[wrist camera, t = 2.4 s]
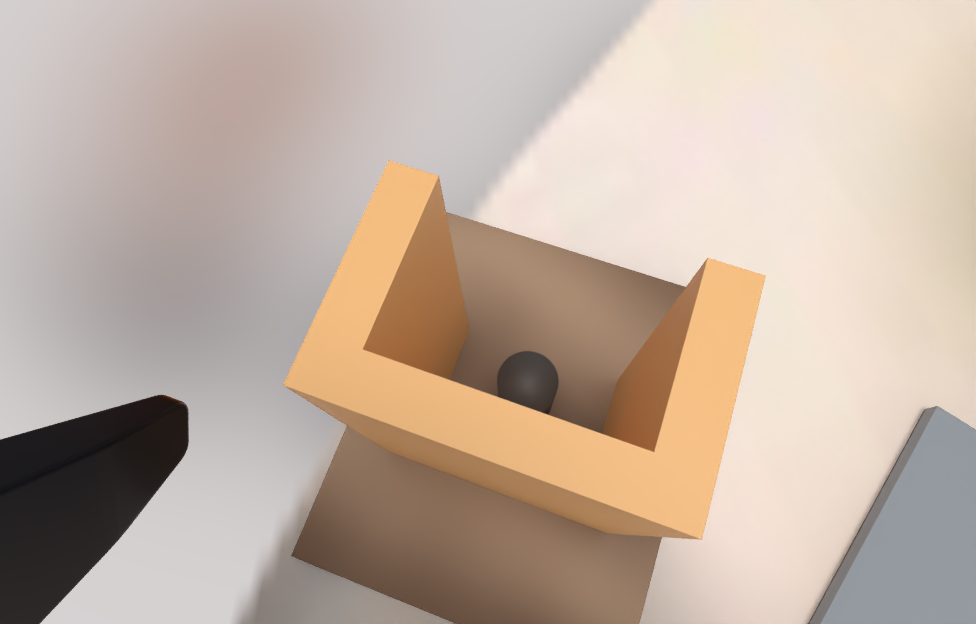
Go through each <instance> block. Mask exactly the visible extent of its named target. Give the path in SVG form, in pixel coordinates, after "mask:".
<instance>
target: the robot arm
mask: <svg viewBox="0 0 976 624" xmlns="http://www.w3.org/2000/svg"><path fill="white" fill-rule="evenodd" d="M188 430H189V429H188V408H187V405H186V404H185V403H184V402H182V401H179V400H176V399H174V398H171V397H168V396H166V395H157V396H153V397H150V398H146V399H142V400H139V401H136V402H132V403H128V404H125V405H121V406H118V407H114V408H111V409H107V410H104V411H100V412H96V413H93V414H89V415H86V416H82V417H79V418H75V419H72V420H68V421H65V422H61V423H57V424H54V425H50V426H47V427H43V428H40V429H36V430H33V431H29V432H26V433H22V434H19V435H15V436H11V437H8V438H4V439H1V440H0V624H40V623H41V622H42V621H43V619H45V617H46V616H47V615H48V614H49V613H50V612H51V611H52V610H53V609H54V608H55V607H56V606H57V605H58V604H59V602H61V601H62V599H63V598H64V597H65V596H66V595H67V594H68V593H69V592H70V591H71V590H72V589H73V588H74V587H75V586H76V585H77V584H78V582H80V580H81V579H82V578H83V577H84V576H85V575H86V574H87V573H88V572H89V571H90V570H91V569H92V567H94V566H95V564H97V562H98V561H99V560H100V559H101V558H102V557H103V556H104V555H105V554H106V553H107V552H108V551H109V550H110V549H111V547H112V546H113V545H114V544H115V543H116V542H117V541H118V540H119V539H120V537H121V536H122V535H123V534H124V532H125V531H126V530H127V529H128V528H129V526H130V525H131V524H132V523H133V521H134V520H135V519H136V517H137V516H138V515H139V514H140V512H141V511H142V510H143V509H144V507H145V506H146V505H147V503H148V502H149V501H150V500H151V498H152V497H153V496H154V494H155V493H156V491H157V490H158V489H159V488H160V487H161V485H162V484H163V483H164V481H165V480H166V479H167V478H168V476H169V475H170V473H171V472H172V471H173V470H174V468H175V467H176V466H177V465H178V463H179V462H180V461H181V459H182V458H183V456H184V455H185V453H186V450H187V447H188V442H189V435H188V433H189V432H188Z"/></svg>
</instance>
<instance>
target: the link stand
mask: <svg viewBox="0 0 976 624" xmlns="http://www.w3.org/2000/svg"><path fill="white" fill-rule="evenodd" d="M446 215H447V220H448V225H449V230H450V235H451V240H452V245H453V250H454V255H455V260H456V265H457V270H458V275H459V280H460V285H461V290H462V295H463V300H464V305H465V310H466V315H467V320H468V325H469V332H468V334H467V337H466V340H465V342H464V345H463V347H462V350H461V352H460V355H459V358H458V360H457V363H456V365H455V368H454V370H453V373H452V376H451V378H450V380H451V381H454V382H457V383H459V384H462V385H465V386H468V387H471V388H474V389H476V390H479V391H482V392H485V393H488V394H491V395H493V396H496V397H499V398H502V399H505V400H508V401H510V402H513V403H516V404H519V405H522V406H525V407H527V408H530V409H533V410H536V411H539V412H542V413H544V414H547V415H550V416H553V417H556V418H559V419H561V420H564V421H567V422H570V423H573V424H576V425H578V426H581V427H584V428H587V429H590V430H593V431H595V432H598V433H602V430H603V427H604V423H605V420H606V417H607V413H608V410H609V407H610V404H611V400H612V397H613V394H614V390H615V387H616V384H617V380H618V379H619V377H620V376H621V375H622V373H623V372H624V371H625V369H626V368H627V367H628V365H629V364H630V363H631V361H632V360H633V358H634V357H635V356H636V354H637V353H638V352H639V350H640V349H641V348H642V346H643V345H644V344H645V342H646V341H647V340H648V338H649V337H650V335H651V334H652V333H653V331H654V330H655V329H656V327H657V326H658V325H659V323H660V322H661V321H662V319H663V318H664V316H665V315H666V314H667V312H668V311H669V310H670V308H671V307H672V306H673V304H674V303H675V302H676V300H677V299H678V298H679V296H680V295H681V293H682V292H683V291H684V289H685V288H686V287H684V286H680V285H677V284H674V283H671V282H668V281H664V280H661V279H658V278H655V277H652V276H648V275H645V274H642V273H639V272H636V271H633V270H629V269H626V268H623V267H620V266H617V265H613V264H610V263H607V262H604V261H601V260H597V259H594V258H591V257H588V256H585V255H581V254H578V253H575V252H572V251H569V250H566V249H562V248H559V247H556V246H553V245H550V244H546V243H543V242H540V241H537V240H534V239H530V238H527V237H524V236H521V235H518V234H514V233H511V232H508V231H505V230H502V229H499V228H495V227H492V226H489V225H486V224H483V223H479V222H476V221H473V220H470V219H467V218H463V217H460V216H457V215H454V214H451V213H447V212H446ZM661 538H662V537H655V536H639V535H623V534H607V533H605V532H602V531H599V530H597V529H594V528H591V527H589V526H586V525H583V524H581V523H578V522H575V521H573V520H570V519H567V518H565V517H562V516H559V515H557V514H554V513H551V512H549V511H546V510H543V509H541V508H538V507H535V506H533V505H530V504H527V503H525V502H522V501H519V500H517V499H514V498H511V497H509V496H506V495H503V494H501V493H498V492H495V491H493V490H490V489H487V488H485V487H482V486H479V485H477V484H474V483H471V482H469V481H466V480H463V479H461V478H458V477H455V476H453V475H450V474H447V473H445V472H442V471H439V470H437V469H434V468H431V467H429V466H426V465H423V464H421V463H418V462H415V461H413V460H410V459H407V458H405V457H402V456H399V455H397V454H394V453H391V452H389V451H387V450H385V449H384V448H382V447H380V446H379V445H377V444H376V443H374V442H373V441H371V440H369V439H368V438H366V437H365V436H363V435H361V434H360V433H358V432H357V431H355V430H353V429H352V428H350V427H349V426H347V427H346V430H345V432H344V434H343V437H342V439H341V441H340V444H339V446H338V448H337V451H336V453H335V455H334V458H333V460H332V462H331V465H330V467H329V469H328V472H327V474H326V476H325V479H324V481H323V483H322V486H321V488H320V490H319V493H318V495H317V497H316V499H315V502H314V504H313V506H312V509H311V511H310V513H309V516H308V518H307V520H306V523H305V525H304V527H303V530H302V532H301V534H300V537H299V539H298V541H297V544H296V546H295V548H294V551H293V553H292V555H291V556H293V557H295V558H297V559H300V560H302V561H305V562H307V563H310V564H312V565H314V566H317V567H319V568H322V569H324V570H327V571H329V572H332V573H334V574H336V575H339V576H341V577H344V578H346V579H349V580H351V581H354V582H356V583H358V584H361V585H363V586H366V587H368V588H371V589H373V590H376V591H378V592H380V593H383V594H385V595H388V596H390V597H393V598H395V599H397V600H400V601H402V602H405V603H407V604H410V605H412V606H415V607H417V608H419V609H422V610H424V611H427V612H429V613H432V614H434V615H437V616H439V617H441V618H444V619H446V620H449V621H451V622H454V623H456V624H639V622H640V618H641V615H642V611H643V607H644V603H645V599H646V595H647V592H648V588H649V584H650V580H651V576H652V572H653V569H654V565H655V561H656V557H657V553H658V549H659V546H660V542H661Z"/></svg>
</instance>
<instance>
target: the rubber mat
mask: <svg viewBox="0 0 976 624" xmlns="http://www.w3.org/2000/svg"><path fill="white" fill-rule="evenodd" d="M809 624H976V430H975V429H974V428H972V427H971V426H969V425H967V424H966V423H964V422H962V421H961V420H959V419H958V418H956V417H954V416H953V415H951V414H950V413H948V412H946V411H945V410H943V409H942V408H940V407H938V406H936V407H932V408H929V409H925V411H924V413H923V415H922V416H921V418H920V420H919V422H918V424H917V426H916V427H915V429H914V431H913V433H912V435H911V437H910V438H909V440H908V442H907V444H906V446H905V448H904V450H903V451H902V453H901V455H900V457H899V459H898V461H897V462H896V464H895V466H894V468H893V470H892V472H891V473H890V475H889V477H888V479H887V481H886V483H885V485H884V486H883V488H882V490H881V492H880V494H879V496H878V497H877V499H876V501H875V503H874V505H873V507H872V509H871V510H870V512H869V514H868V516H867V518H866V520H865V521H864V523H863V525H862V527H861V529H860V531H859V532H858V534H857V536H856V538H855V540H854V542H853V544H852V545H851V547H850V549H849V551H848V553H847V555H846V556H845V558H844V560H843V562H842V564H841V566H840V567H839V569H838V571H837V573H836V575H835V577H834V579H833V580H832V582H831V584H830V586H829V588H828V590H827V591H826V593H825V595H824V597H823V599H822V601H821V603H820V604H819V606H818V608H817V610H816V612H815V614H814V615H813V617H812V619H811V621H810V623H809Z"/></svg>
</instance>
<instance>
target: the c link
mask: <svg viewBox="0 0 976 624" xmlns="http://www.w3.org/2000/svg"><path fill="white" fill-rule="evenodd" d="M764 280H765V275H762V274H759V273H755V272H752V271H749V270H745V269H742V268H739V267H736V266H732V265H729V264H726V263H723V262H719V261H716V260H713V259H709V258H707V260H706V261H705V262H704V264H703V265H702V266H701V268H700V269H699V270H698V272H697V273H696V275H695V276H694V277H693V279H692V280H691V281H690V283H689V284H688V285H687V287H686V288H685V289H684V291H683V292H682V293H681V295H680V296H679V298H678V299H677V300H676V302H675V303H674V304H673V306H672V307H671V308H670V310H669V311H668V312H667V314H666V315H665V316H664V318H663V319H662V321H661V322H660V323H659V325H658V326H657V327H656V329H655V330H654V331H653V333H652V334H651V335H650V337H649V338H648V340H647V341H646V342H645V344H644V345H643V346H642V348H641V349H640V350H639V352H638V353H637V354H636V356H635V357H634V358H633V360H632V361H631V363H630V364H629V365H628V367H627V368H626V369H625V371H624V372H623V373H622V375H621V376H620V377H619V379H618V380H617V384H616V387H615V390H614V394H613V397H612V400H611V404H610V407H609V410H608V413H607V417H606V420H605V423H604V427H603V430H602V433H598V432H595V431H593V430H590V429H587V428H584V427H581V426H578V425H576V424H573V423H570V422H567V421H564V420H561V419H559V418H556V417H553V416H550V415H547V414H544V413H542V412H539V411H536V410H533V409H530V408H527V407H525V406H522V405H519V404H516V403H513V402H510V401H508V400H505V399H502V398H499V397H496V396H493V395H491V394H488V393H485V392H482V391H479V390H476V389H474V388H471V387H468V386H465V385H462V384H459V383H457V382H454V381H451V380H450V378H451V376H452V373H453V370H454V368H455V365H456V363H457V360H458V358H459V355H460V352H461V350H462V347H463V345H464V342H465V340H466V337H467V334H468V332H469V325H468V320H467V315H466V310H465V305H464V300H463V295H462V290H461V285H460V280H459V275H458V270H457V265H456V260H455V255H454V250H453V245H452V240H451V235H450V230H449V225H448V220H447V215H446V210H445V205H444V200H443V195H442V190H441V185H440V180H439V176H438V175H434V174H431V173H428V172H425V171H421V170H418V169H414V168H411V167H408V166H405V165H402V164H398V163H395V162H391V161H388V163H387V165H386V168H385V170H384V172H383V174H382V176H381V178H380V180H379V183H378V185H377V187H376V189H375V191H374V193H373V195H372V197H371V199H370V202H369V204H368V206H367V208H366V210H365V212H364V214H363V217H362V218H361V221H360V223H359V225H358V227H357V229H356V231H355V233H354V235H353V238H352V240H351V242H350V244H349V246H348V248H347V250H346V252H345V254H344V257H343V259H342V261H341V263H340V265H339V267H338V269H337V271H336V274H335V276H334V278H333V280H332V282H331V284H330V286H329V289H328V291H327V293H326V295H325V297H324V299H323V301H322V303H321V306H320V308H319V310H318V312H317V314H316V316H315V318H314V320H313V322H312V325H311V327H310V329H309V331H308V333H307V335H306V337H305V340H304V341H303V344H302V346H301V348H300V350H299V352H298V354H297V356H296V359H295V361H294V363H293V365H292V367H291V369H290V371H289V373H288V375H287V377H286V380H285V382H284V384H283V385H284V386H285V387H287V388H289V389H290V390H292V391H293V392H295V393H296V394H298V395H300V396H301V397H303V398H305V399H306V400H307V401H309V402H311V403H312V404H314V405H315V406H317V407H319V408H320V409H322V410H323V411H325V412H327V413H328V414H330V415H331V416H333V417H334V418H336V419H338V420H339V421H341V422H342V423H344V424H346V425H347V426H349V427H350V428H352V429H353V430H355V431H357V432H358V433H360V434H361V435H363V436H365V437H366V438H368V439H369V440H371V441H373V442H374V443H376V444H377V445H379V446H380V447H382V448H384V449H385V450H387V451H389V452H391V453H394V454H397V455H399V456H402V457H405V458H407V459H410V460H413V461H415V462H418V463H421V464H423V465H426V466H429V467H431V468H434V469H437V470H439V471H442V472H445V473H447V474H450V475H453V476H455V477H458V478H461V479H463V480H466V481H469V482H471V483H474V484H477V485H479V486H482V487H485V488H487V489H490V490H493V491H495V492H498V493H501V494H503V495H506V496H509V497H511V498H514V499H517V500H519V501H522V502H525V503H527V504H530V505H533V506H535V507H538V508H541V509H543V510H546V511H549V512H551V513H554V514H557V515H559V516H562V517H565V518H567V519H570V520H573V521H575V522H578V523H581V524H583V525H586V526H589V527H591V528H594V529H597V530H599V531H602V532H605V533H607V534H623V535H639V536H655V537H671V538H687V539H702V537H703V533H704V529H705V525H706V521H707V517H708V512H709V508H710V504H711V500H712V496H713V492H714V488H715V483H716V479H717V475H718V471H719V467H720V463H721V459H722V454H723V450H724V446H725V442H726V438H727V434H728V430H729V425H730V421H731V417H732V413H733V409H734V405H735V401H736V396H737V392H738V388H739V384H740V380H741V376H742V372H743V367H744V363H745V359H746V355H747V351H748V347H749V343H750V338H751V334H752V330H753V326H754V322H755V318H756V314H757V309H758V305H759V301H760V297H761V293H762V289H763V285H764Z"/></svg>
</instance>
